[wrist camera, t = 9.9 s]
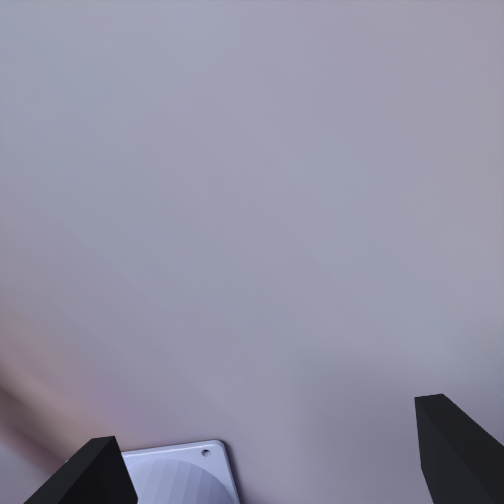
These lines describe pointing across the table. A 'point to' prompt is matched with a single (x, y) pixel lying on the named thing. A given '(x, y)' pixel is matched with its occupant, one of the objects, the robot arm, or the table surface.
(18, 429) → the table surface
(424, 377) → the table surface
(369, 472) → the table surface
